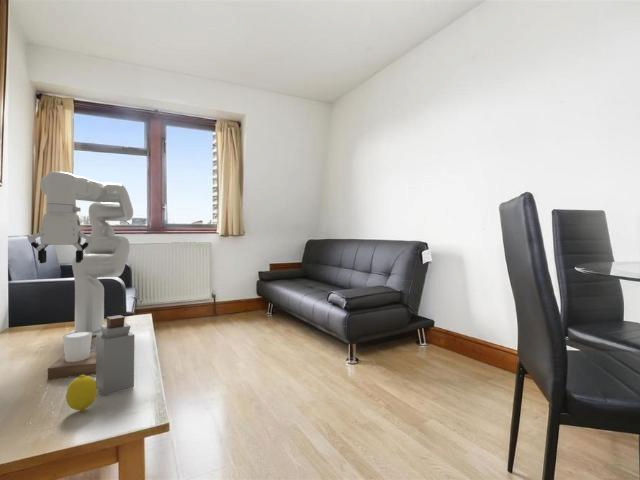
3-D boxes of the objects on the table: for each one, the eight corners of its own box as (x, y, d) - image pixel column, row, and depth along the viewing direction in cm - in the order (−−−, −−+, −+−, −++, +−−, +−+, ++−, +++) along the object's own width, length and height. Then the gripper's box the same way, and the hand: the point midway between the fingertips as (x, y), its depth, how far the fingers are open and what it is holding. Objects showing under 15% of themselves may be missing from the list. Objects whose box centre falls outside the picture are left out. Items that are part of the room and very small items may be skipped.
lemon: (76, 405, 75) (76, 370, 75) (102, 404, 76) (102, 369, 76) (59, 418, 70) (60, 380, 70) (87, 417, 70) (87, 379, 70)
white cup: (76, 363, 92) (76, 338, 92) (56, 361, 94) (56, 336, 94) (97, 355, 99) (97, 332, 99) (78, 353, 100) (79, 330, 100)
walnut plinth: (64, 363, 100) (64, 353, 100) (110, 359, 104) (110, 349, 104) (47, 379, 89) (47, 368, 89) (99, 373, 93) (99, 363, 93)
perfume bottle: (95, 387, 84) (96, 317, 84) (125, 379, 89) (125, 312, 89) (103, 396, 80) (104, 321, 80) (133, 387, 85) (134, 317, 85)
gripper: (95, 212, 115) (95, 261, 115) (33, 210, 109) (33, 262, 109) (88, 210, 108) (88, 263, 108) (22, 208, 102) (22, 264, 102)
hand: (61, 262), depth 109 cm, fingers open, 9 cm apart
